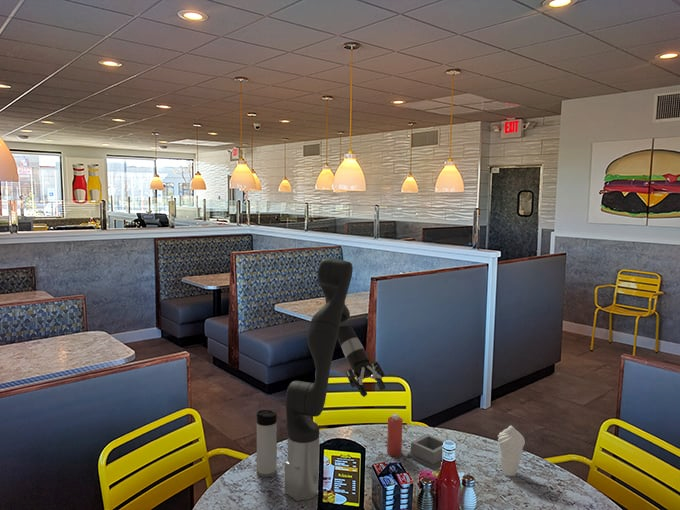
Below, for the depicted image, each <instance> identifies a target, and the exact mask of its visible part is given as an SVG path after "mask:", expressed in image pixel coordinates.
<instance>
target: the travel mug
mask: <svg viewBox="0 0 680 510" xmlns="http://www.w3.org/2000/svg"><path fill="white" fill-rule="evenodd" d="M277 415H278V414H277V412H275V411H272V410H270V409H269V410H268V409H263V410H262V409H261V410H258V411H257V412H256V474H257V475H258V476H259V477H263V478H267V477H272V476H274V475H275V474H276V473H277V470H278V469H277V468H278V466H277V462H278V459H277V457H278V456H277V454H278V453H277V452H278V451H277V450H278V447H277V446H278V441H277V440H278V438H277V437H278V432H277V431H278V426H277V425H278V421H277V419H278V416H277Z"/></svg>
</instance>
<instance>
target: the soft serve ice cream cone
mask: <svg viewBox="0 0 680 510" xmlns="http://www.w3.org/2000/svg"><path fill="white" fill-rule="evenodd" d="M497 438H498V439H497V441H498V447H499V454H498V455H499V456H498V457H499V458H500V466H501V472H502V474H503V475H505V476H508V477H515V476H516V475H517V473H518V469H519V466H520V462H521V461H522V453H523V452H522V451H523V449H524V447H525V443H526V441H525V440H526V439H525V437H524V436H523V435H522V434H521V433H520V432H519V431H518V430H517V429H516V428H515V427H514V426H513V425H509V426H508V427H507V428H505V429H503V430H502V431H500V432H499V434H498V435H497Z"/></svg>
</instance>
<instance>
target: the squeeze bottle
mask: <svg viewBox="0 0 680 510" xmlns="http://www.w3.org/2000/svg"><path fill="white" fill-rule="evenodd" d="M403 421H404V420H403V418H402V417H400V416H399V414H398V413H392V414H391V416H389V417H388V418H387V437H386V438H387V441H386V454H387V453H388V454H389V456H390V455H392V456H391V457H393V456H397V457H400V456H402V453H403V448H402V447H403ZM388 454H387V455H388Z"/></svg>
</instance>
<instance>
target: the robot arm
mask: <svg viewBox="0 0 680 510" xmlns="http://www.w3.org/2000/svg"><path fill="white" fill-rule="evenodd" d="M318 266H319V267H318V268H317V269H318V270H317V279H318V284H319V286H320V289H321V290H322V293H323V295H324V298H325V305H323V306H322V307H321V308H320V309H319V310H318V311H317V312H316V313H315V314H314V315H313V316H312V318H311V320H310V323H309V328H308V331H307V335H306V343H307V346H308V349H309V351H310V354H311V357H312V360H313V363H314V367H315V378H314V379H315V380H314V382H309V381H301V380H293V381H291V382H290V383H289V385H288V386H287V389H286V394H285V412H286V413H285V414H286V415H285V416H286V418H285V419H286V430H287V461H285V463H284V493H285V494H286V495H287V496H289V497H290V498H292V499H293V500H294V501H296V502H299V501H300V502H301V501H305V500H310V499H313V498H315V497H316V496H317V495H318V494H317V491H318V492H319V490H318V471H319V472H320V427H319V425H318V423H316V422H315V421H313V420H312V419H310V418H309V417H319V416H320V415H321V414H322V413H323V410H324V407H325V403H326V400H327V399H326V398H327V392H328V385H329V378H330V370H331V367H332V366H331V365H332V362H333V357H334V352H335V349H336V344H337V341H338V343H339V346H340V348H341V350H342V353H343V354H344V357H345V359H346V361H347V363H348V365H349V367H350V368H349V369H348V370H347V371H346V372H345V374H346V376H347V379H348V381H349V384H350V386H351V388H357V390H358V392H359V394H360V396H362V397H363V398H366V396H367V395H368V392H367V390H366V389H365V388H366V387H365V386H364V384H363V380H365V379H369V378H370V379H371V380H374V381H376V384H377V386H378V388H379V390H380V391H381V392H383V391H384V390H385V389H386V384H385V383H384V381H383V378H384V376H385V373H384V371H383V369H382V368H381V365H380V364H379V362H378V361H375V362H374V363H371V362H370V358H369V355H368V354H367V351H366V350H365V348H364V346H363V344H362V343H361V340H360V339H359V337H358V336H357V334H356V331H355V330H354V328H353V327H352V326H351V325H342V326H341V324H343V323H345V322H346V321H348V320H349V319H350V315H351V312H350V310H349V308H348V307H347V305H346V298H347V294H348V292H349V289H350V284H351V280H352V276H353V272H354V271H353V269H354V268H353V264H352V263H351V262H350V261H347V260H344V259H336V258H330V257H329V258H328V257H327V258H323V259H321V261H320V263H319V265H318Z"/></svg>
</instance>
